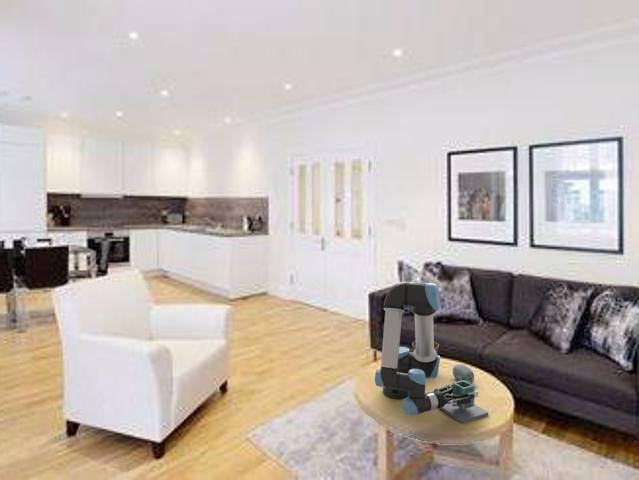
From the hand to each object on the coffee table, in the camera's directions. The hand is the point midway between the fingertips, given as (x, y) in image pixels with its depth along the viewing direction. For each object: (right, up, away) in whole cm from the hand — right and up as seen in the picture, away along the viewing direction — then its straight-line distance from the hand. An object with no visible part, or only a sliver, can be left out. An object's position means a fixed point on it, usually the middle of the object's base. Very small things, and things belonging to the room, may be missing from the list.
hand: (471, 390), depth 209 cm
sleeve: (-4, -6, -1) cm, 8 cm away
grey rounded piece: (+6, -6, +32) cm, 33 cm away
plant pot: (-11, -4, +45) cm, 47 cm away
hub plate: (-4, -10, -1) cm, 11 cm away
